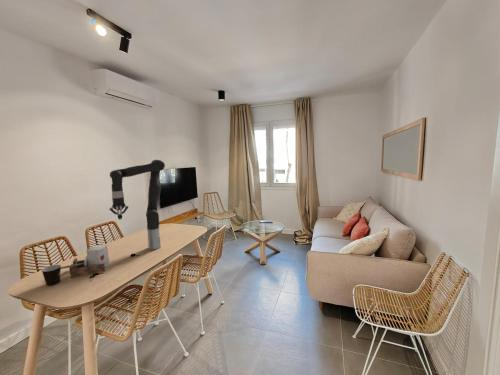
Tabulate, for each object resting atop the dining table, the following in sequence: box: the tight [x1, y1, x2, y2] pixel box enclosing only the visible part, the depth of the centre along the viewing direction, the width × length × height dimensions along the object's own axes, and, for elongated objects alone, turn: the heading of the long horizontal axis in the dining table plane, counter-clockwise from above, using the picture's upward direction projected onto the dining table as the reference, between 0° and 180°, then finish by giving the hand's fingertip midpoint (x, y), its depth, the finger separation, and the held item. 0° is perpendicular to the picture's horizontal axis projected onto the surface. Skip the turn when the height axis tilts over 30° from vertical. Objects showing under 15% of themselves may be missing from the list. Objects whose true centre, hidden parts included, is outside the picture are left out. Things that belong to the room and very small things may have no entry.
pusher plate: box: [61, 255, 88, 270], centre depth 146 cm, size 18×11×8 cm, turn 118°
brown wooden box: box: [68, 257, 106, 279], centre depth 151 cm, size 18×15×7 cm
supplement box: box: [86, 244, 110, 268], centre depth 153 cm, size 9×9×15 cm
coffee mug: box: [41, 264, 62, 287], centre depth 133 cm, size 12×9×10 cm
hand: (120, 219), depth 167 cm, fingers closed
